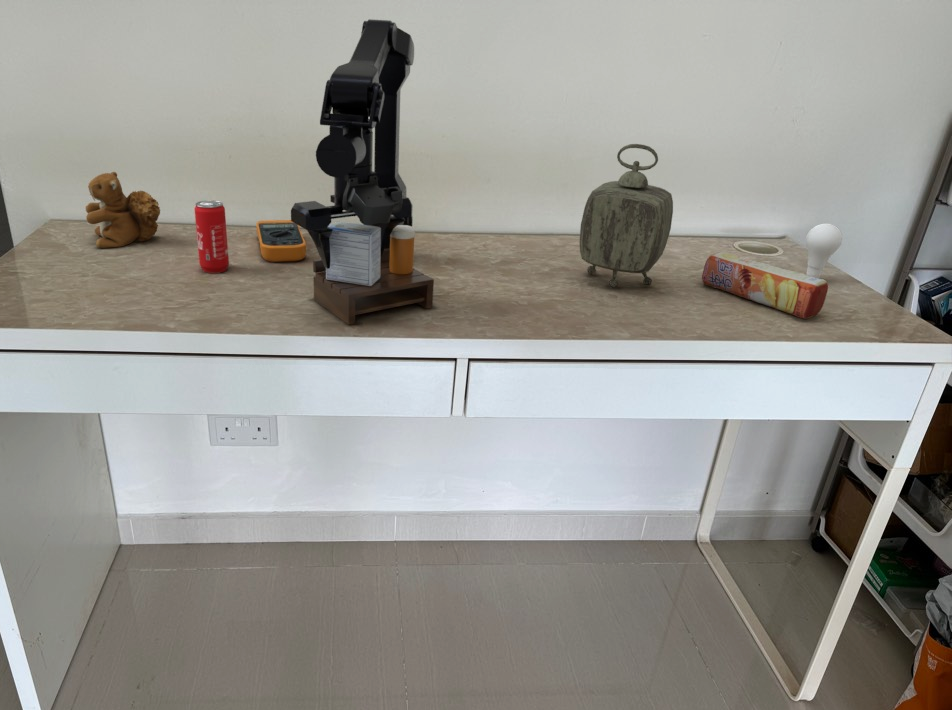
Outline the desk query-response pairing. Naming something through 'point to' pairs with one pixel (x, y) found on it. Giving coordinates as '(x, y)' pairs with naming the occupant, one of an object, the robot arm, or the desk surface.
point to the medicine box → (354, 253)
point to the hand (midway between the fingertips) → (352, 263)
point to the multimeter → (281, 240)
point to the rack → (371, 291)
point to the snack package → (766, 284)
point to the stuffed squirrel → (120, 212)
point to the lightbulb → (821, 247)
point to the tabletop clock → (626, 223)
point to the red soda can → (211, 236)
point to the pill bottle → (402, 249)
